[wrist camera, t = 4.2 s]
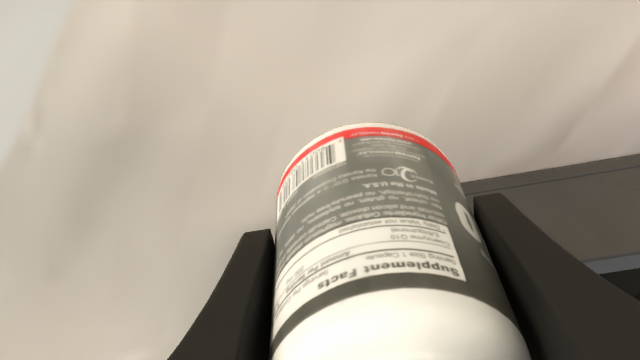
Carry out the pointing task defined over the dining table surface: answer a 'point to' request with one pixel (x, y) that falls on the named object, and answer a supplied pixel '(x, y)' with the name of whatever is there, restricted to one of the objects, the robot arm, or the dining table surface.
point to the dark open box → (582, 212)
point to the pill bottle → (383, 256)
